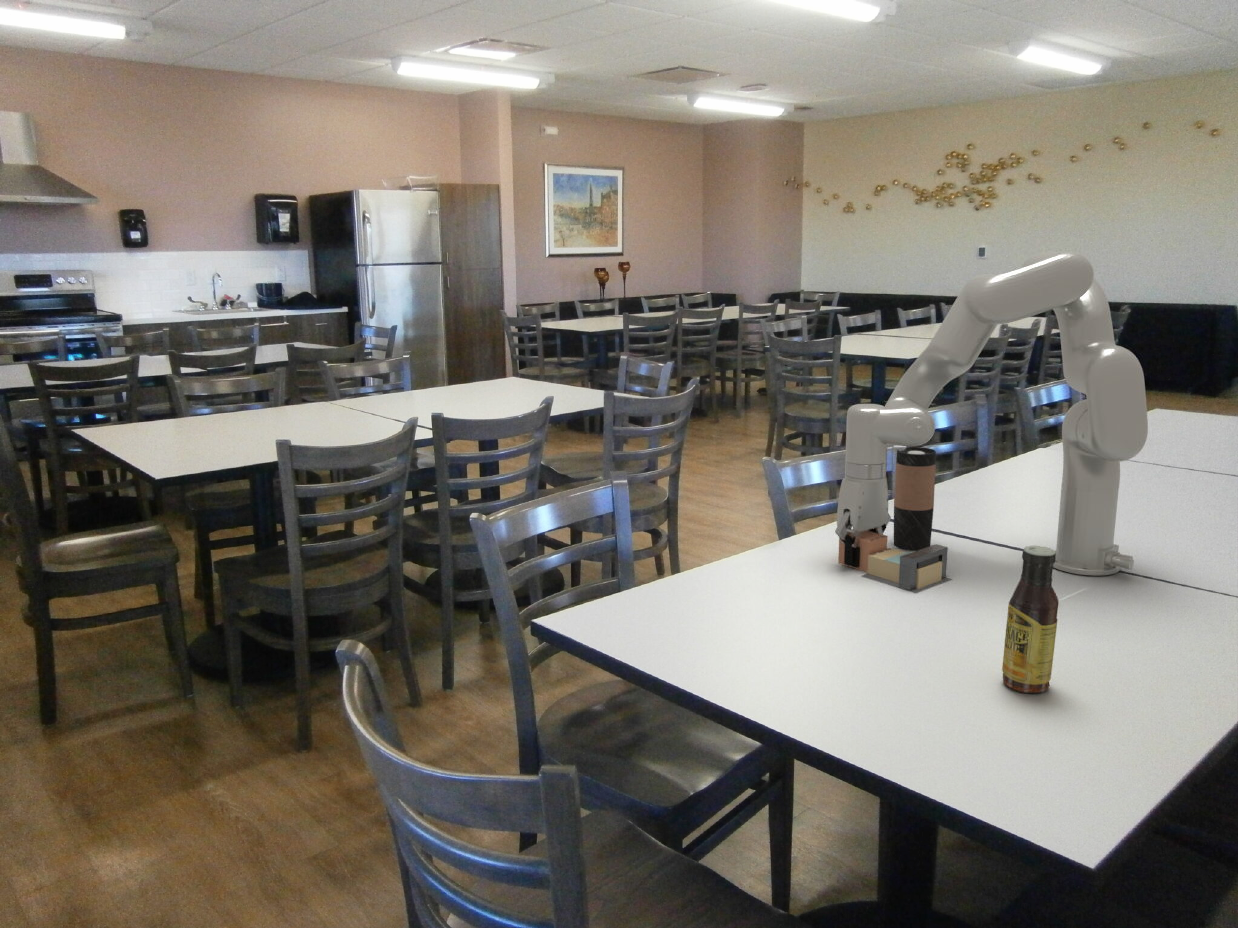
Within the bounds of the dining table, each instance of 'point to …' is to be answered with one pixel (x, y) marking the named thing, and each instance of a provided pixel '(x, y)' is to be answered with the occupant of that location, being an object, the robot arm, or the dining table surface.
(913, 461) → the travel mug
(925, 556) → the grey rectangular collar
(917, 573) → the tan and teal block
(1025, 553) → the sauce bottle
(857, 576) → the dining table surface
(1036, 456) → the dining table surface
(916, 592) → the mat
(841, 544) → the stub
